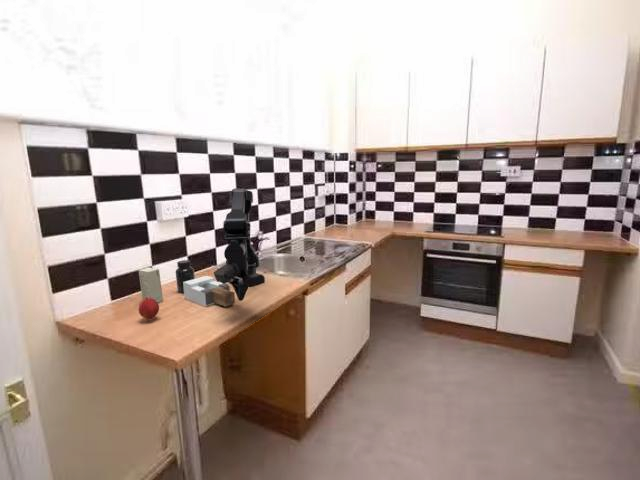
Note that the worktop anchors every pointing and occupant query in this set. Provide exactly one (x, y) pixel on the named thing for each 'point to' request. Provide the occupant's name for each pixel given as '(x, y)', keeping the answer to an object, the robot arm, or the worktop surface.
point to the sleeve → (202, 290)
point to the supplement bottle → (183, 274)
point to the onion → (148, 308)
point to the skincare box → (151, 284)
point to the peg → (223, 296)
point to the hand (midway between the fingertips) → (240, 300)
